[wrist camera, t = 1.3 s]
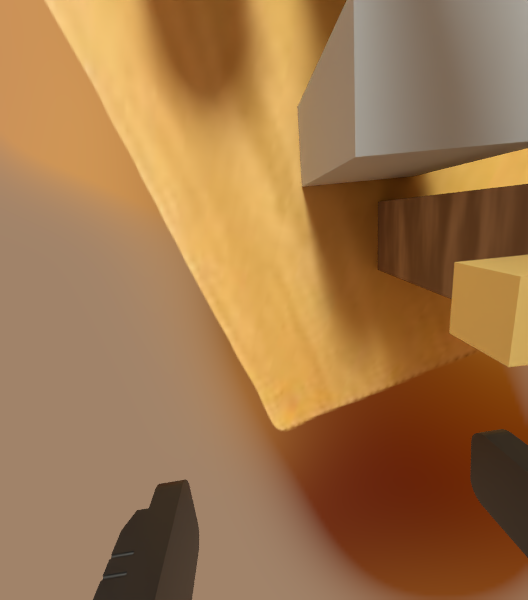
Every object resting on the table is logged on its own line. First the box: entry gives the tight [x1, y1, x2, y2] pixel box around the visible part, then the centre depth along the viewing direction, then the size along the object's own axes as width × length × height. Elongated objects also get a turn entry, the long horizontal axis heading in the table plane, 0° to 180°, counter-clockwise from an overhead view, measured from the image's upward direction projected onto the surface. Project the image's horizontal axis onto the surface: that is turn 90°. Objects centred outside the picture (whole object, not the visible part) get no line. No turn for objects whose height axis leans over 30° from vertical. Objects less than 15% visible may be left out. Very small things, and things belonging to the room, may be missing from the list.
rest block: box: [298, 0, 528, 187], centre depth 31 cm, size 16×10×22 cm, turn 95°
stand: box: [378, 184, 528, 299], centre depth 30 cm, size 16×10×32 cm, turn 95°
